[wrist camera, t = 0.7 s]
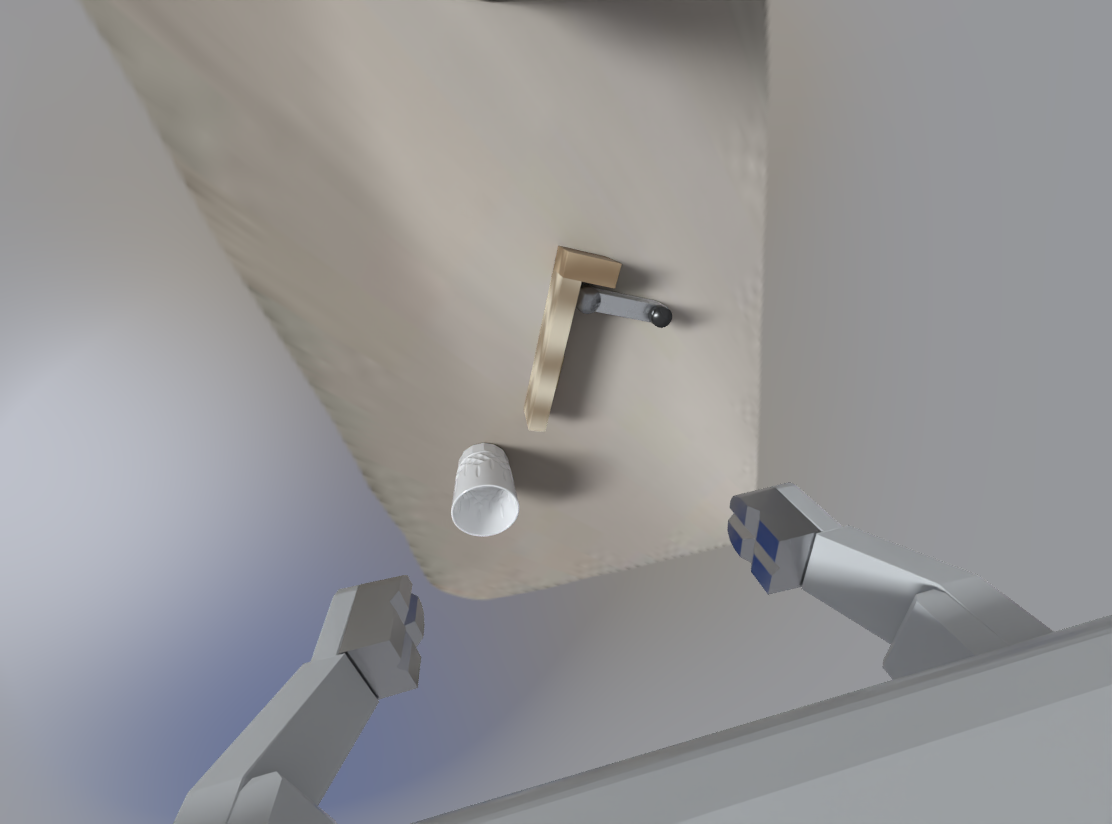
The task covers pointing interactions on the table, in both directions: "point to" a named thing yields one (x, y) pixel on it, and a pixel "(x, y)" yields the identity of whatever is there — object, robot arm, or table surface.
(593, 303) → the crank handle
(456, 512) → the white cup
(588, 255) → the wooden l-bracket
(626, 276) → the table surface
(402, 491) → the table surface
